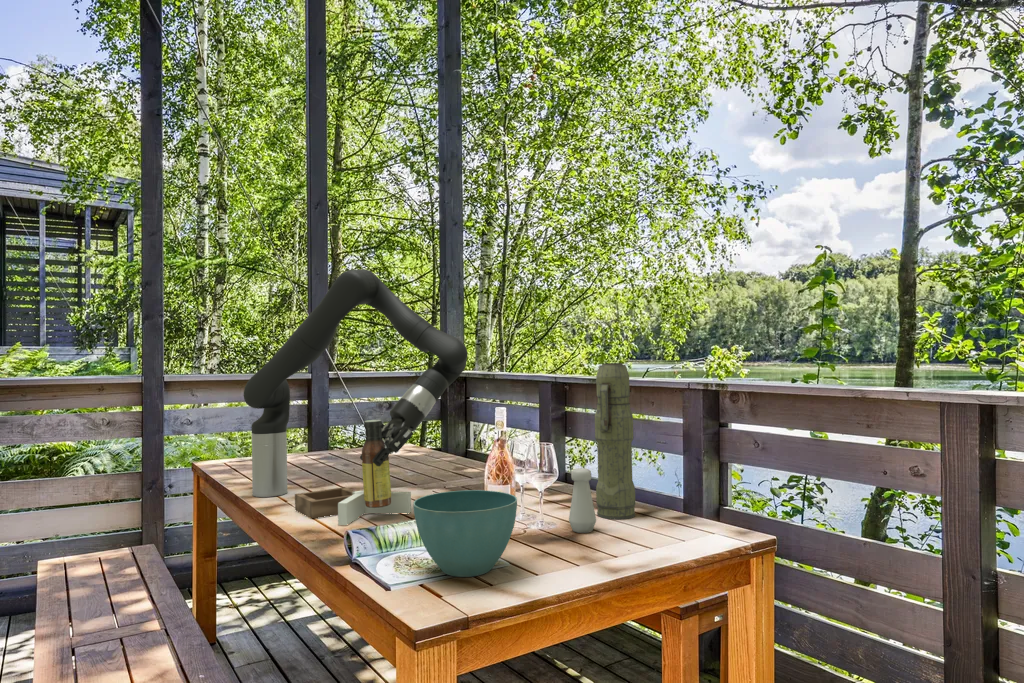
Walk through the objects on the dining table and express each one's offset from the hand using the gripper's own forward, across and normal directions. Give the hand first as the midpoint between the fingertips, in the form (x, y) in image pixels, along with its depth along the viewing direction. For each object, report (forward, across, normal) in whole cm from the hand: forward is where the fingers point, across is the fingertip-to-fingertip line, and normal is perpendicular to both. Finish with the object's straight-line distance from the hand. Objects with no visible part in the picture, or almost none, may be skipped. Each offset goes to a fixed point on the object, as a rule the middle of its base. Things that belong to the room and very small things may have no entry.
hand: (369, 462), depth 157 cm
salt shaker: (-12, +39, +31) cm, 51 cm away
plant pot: (+11, +45, +8) cm, 47 cm away
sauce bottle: (+6, 0, +9) cm, 11 cm away
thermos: (-22, +34, +42) cm, 58 cm away
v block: (+8, -4, +11) cm, 14 cm away
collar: (+12, -16, +7) cm, 21 cm away
